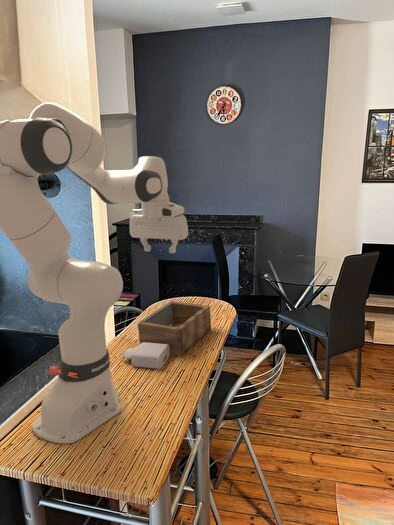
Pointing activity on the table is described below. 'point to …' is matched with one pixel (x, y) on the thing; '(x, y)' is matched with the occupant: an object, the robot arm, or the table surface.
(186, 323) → the crate
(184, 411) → the table surface
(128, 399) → the table surface
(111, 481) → the table surface
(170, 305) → the tailgate
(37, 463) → the table surface
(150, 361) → the charger
